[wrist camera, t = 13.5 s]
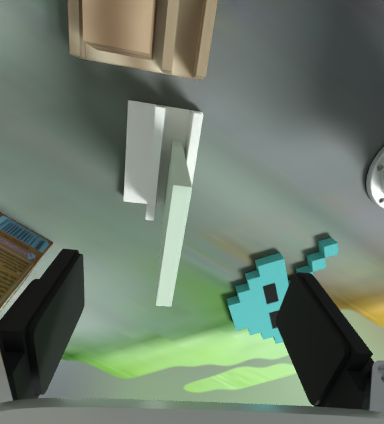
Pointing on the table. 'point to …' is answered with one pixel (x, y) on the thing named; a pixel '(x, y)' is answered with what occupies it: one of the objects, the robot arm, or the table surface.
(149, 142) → the stand
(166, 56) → the rack
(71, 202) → the table surface
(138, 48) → the offcut upper
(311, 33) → the table surface
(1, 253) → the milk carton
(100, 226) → the table surface
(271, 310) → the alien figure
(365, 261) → the table surface
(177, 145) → the sheet
